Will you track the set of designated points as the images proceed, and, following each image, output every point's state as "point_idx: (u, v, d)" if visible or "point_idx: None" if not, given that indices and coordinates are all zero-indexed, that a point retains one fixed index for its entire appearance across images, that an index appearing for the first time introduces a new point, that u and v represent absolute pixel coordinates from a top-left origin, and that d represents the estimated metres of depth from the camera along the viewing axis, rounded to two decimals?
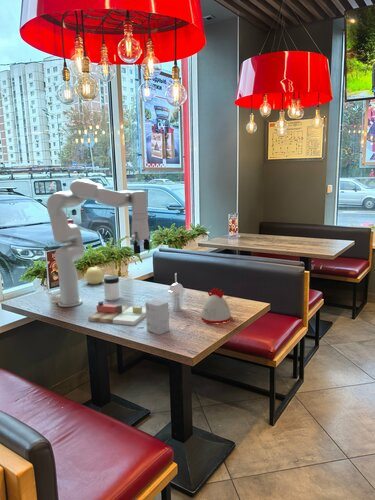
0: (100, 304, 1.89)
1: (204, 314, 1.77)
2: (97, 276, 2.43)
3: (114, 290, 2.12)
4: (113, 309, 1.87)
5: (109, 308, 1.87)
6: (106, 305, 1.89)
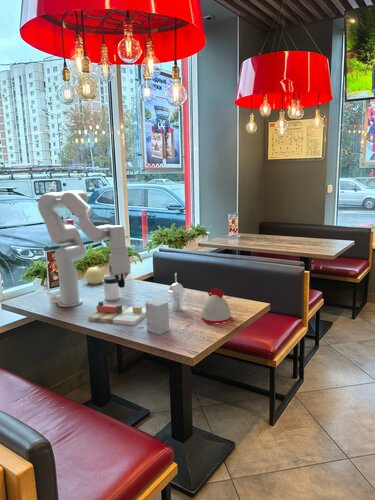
0: (100, 304, 1.89)
1: (204, 314, 1.77)
2: (97, 276, 2.43)
3: (114, 290, 2.12)
4: (113, 309, 1.87)
5: (109, 308, 1.87)
6: (106, 305, 1.89)
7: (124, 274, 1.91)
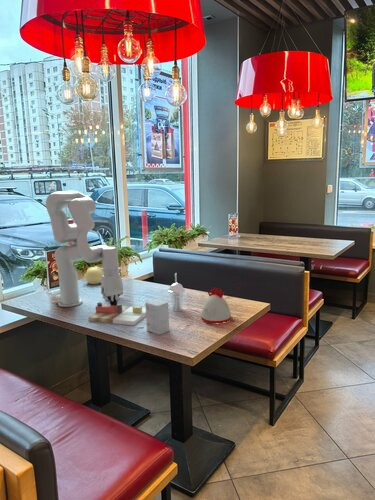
0: (99, 305, 1.88)
1: (204, 314, 1.77)
2: (97, 276, 2.43)
3: None
4: (113, 309, 1.86)
5: (109, 308, 1.87)
6: (105, 306, 1.89)
7: (116, 295, 1.91)
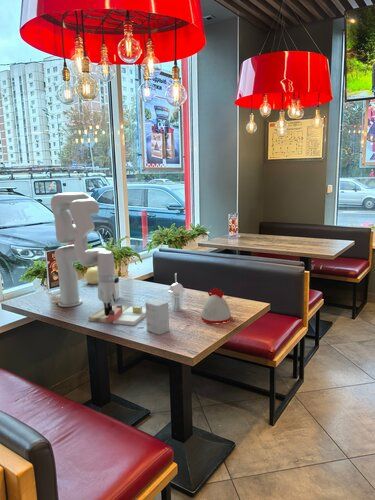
0: (114, 312, 1.77)
1: (204, 314, 1.77)
2: (97, 276, 2.43)
3: None
4: (120, 310, 1.85)
5: (119, 311, 1.82)
6: (114, 311, 1.80)
7: None
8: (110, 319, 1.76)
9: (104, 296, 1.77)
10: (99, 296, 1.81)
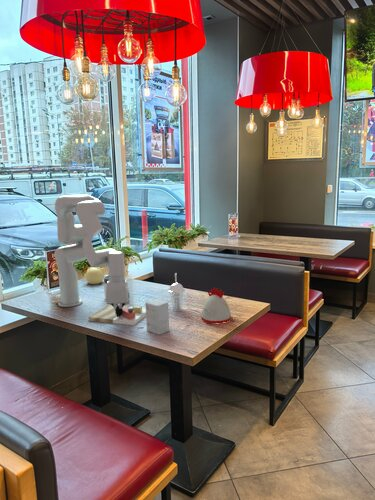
0: None
1: (204, 314, 1.77)
2: (97, 276, 2.43)
3: None
4: None
5: None
6: (127, 310, 1.82)
7: None
8: (131, 317, 1.78)
9: (122, 296, 1.76)
10: (110, 299, 1.77)
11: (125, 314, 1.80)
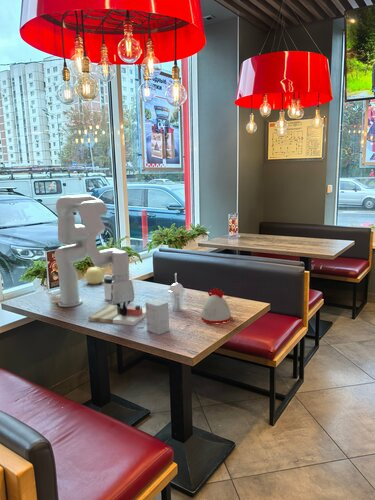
0: None
1: (204, 314, 1.77)
2: (97, 276, 2.43)
3: None
4: None
5: None
6: (132, 308, 1.84)
7: None
8: (140, 314, 1.82)
9: (129, 294, 1.79)
10: (119, 299, 1.76)
11: (132, 312, 1.83)
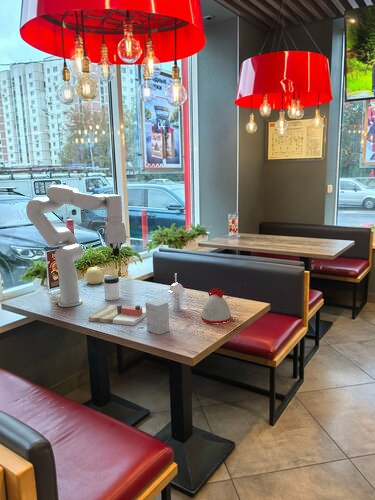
0: None
1: (204, 314, 1.77)
2: (97, 276, 2.43)
3: (114, 290, 2.12)
4: None
5: None
6: (132, 308, 1.84)
7: (111, 243, 1.95)
8: (140, 314, 1.82)
9: (122, 235, 1.93)
10: (111, 239, 1.91)
11: (132, 312, 1.83)
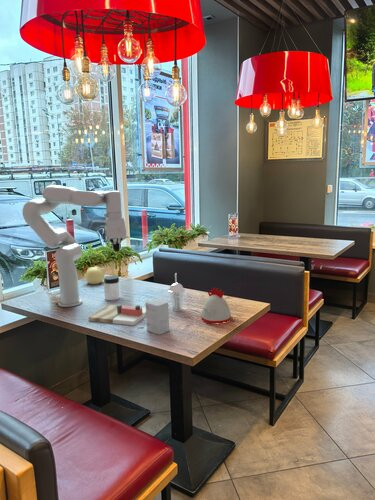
0: None
1: (204, 314, 1.77)
2: (97, 276, 2.43)
3: (114, 290, 2.12)
4: None
5: None
6: (132, 308, 1.84)
7: (112, 239, 1.98)
8: (140, 314, 1.82)
9: (122, 231, 1.96)
10: (112, 234, 1.94)
11: (132, 312, 1.83)
